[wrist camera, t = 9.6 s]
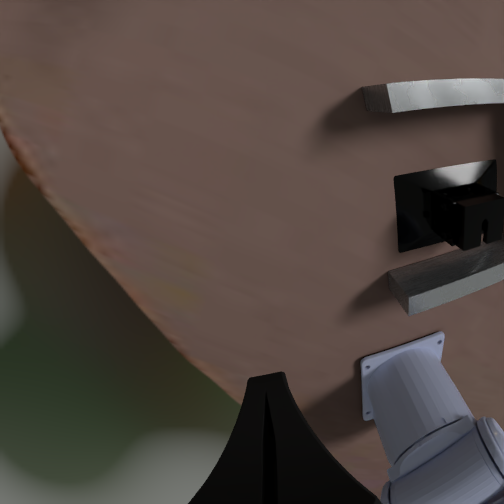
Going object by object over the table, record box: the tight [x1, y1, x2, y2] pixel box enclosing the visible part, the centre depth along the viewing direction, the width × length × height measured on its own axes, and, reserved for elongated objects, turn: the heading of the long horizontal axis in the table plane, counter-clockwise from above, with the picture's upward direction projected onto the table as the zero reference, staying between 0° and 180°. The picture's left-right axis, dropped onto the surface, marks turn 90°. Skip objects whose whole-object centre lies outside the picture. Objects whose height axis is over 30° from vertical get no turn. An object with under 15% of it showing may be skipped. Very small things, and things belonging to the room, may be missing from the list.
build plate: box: [394, 159, 504, 253], centre depth 18 cm, size 12×7×5 cm, turn 103°
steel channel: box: [362, 79, 504, 316], centre depth 17 cm, size 14×15×4 cm
